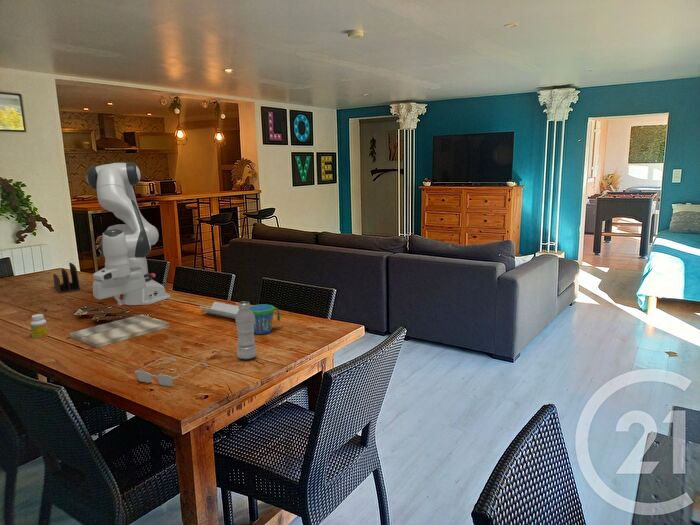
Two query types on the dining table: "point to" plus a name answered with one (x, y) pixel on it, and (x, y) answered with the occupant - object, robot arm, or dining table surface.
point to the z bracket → (222, 310)
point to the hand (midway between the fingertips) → (122, 304)
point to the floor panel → (108, 326)
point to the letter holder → (67, 281)
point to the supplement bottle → (39, 326)
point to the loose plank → (124, 332)
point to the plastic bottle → (245, 331)
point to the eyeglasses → (161, 379)
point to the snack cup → (263, 317)
